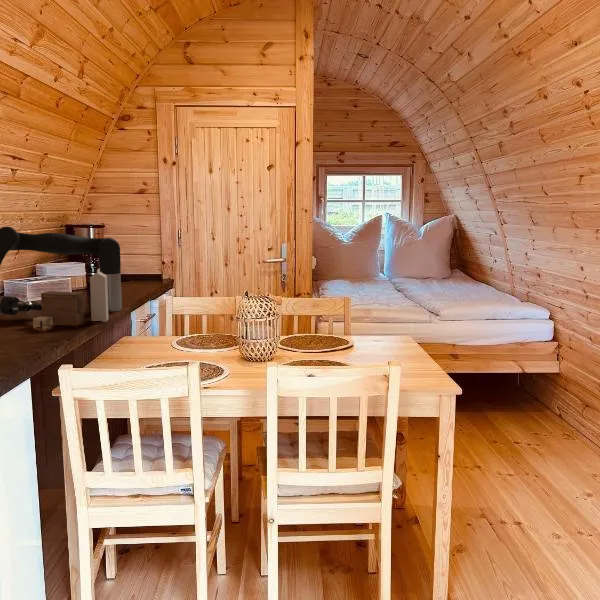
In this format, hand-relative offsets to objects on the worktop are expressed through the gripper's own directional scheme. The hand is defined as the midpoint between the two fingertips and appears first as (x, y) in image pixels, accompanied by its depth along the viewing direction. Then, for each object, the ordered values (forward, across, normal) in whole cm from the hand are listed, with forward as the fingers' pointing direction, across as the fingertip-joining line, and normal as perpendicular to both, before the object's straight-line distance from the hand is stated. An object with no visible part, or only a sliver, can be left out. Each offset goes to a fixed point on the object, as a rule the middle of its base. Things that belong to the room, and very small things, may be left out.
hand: (42, 307), depth 242 cm
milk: (+19, +11, +7) cm, 23 cm away
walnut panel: (+9, 0, +7) cm, 11 cm away
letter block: (+8, -12, +7) cm, 16 cm away
